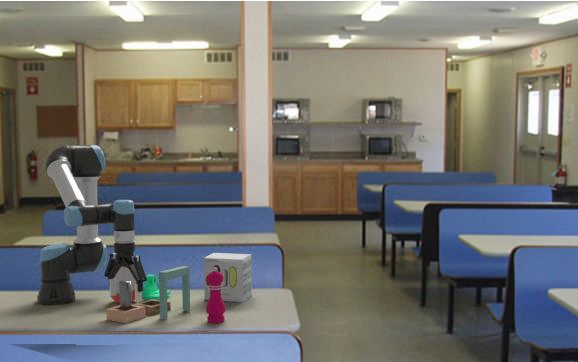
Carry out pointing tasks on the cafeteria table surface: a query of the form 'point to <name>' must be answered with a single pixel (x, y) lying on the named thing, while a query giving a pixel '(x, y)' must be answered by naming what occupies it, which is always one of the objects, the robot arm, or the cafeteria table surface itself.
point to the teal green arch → (163, 278)
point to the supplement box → (230, 275)
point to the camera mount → (151, 288)
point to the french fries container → (120, 276)
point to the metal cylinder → (125, 295)
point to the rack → (125, 314)
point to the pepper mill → (215, 298)
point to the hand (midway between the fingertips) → (125, 298)
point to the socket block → (152, 306)
